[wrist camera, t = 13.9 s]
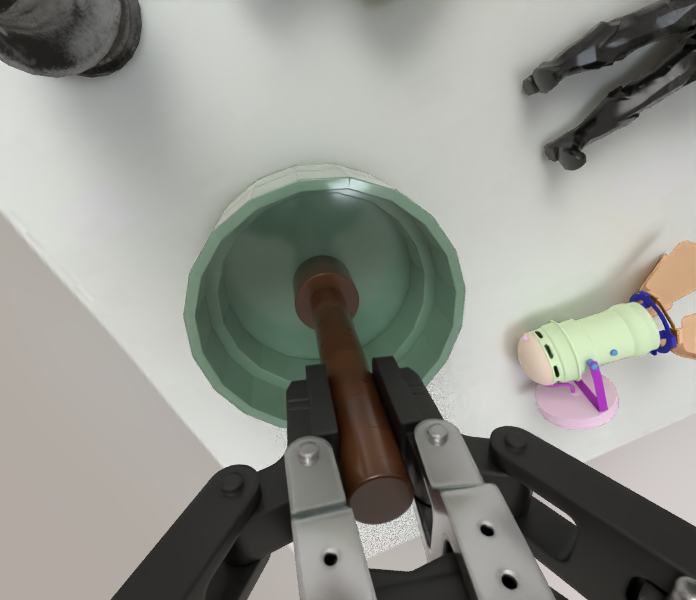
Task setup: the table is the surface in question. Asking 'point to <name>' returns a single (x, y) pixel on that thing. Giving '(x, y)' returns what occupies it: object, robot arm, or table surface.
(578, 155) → the action figure
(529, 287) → the table surface
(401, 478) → the muddler
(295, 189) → the bowl
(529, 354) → the spotlight
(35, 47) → the chess piece
